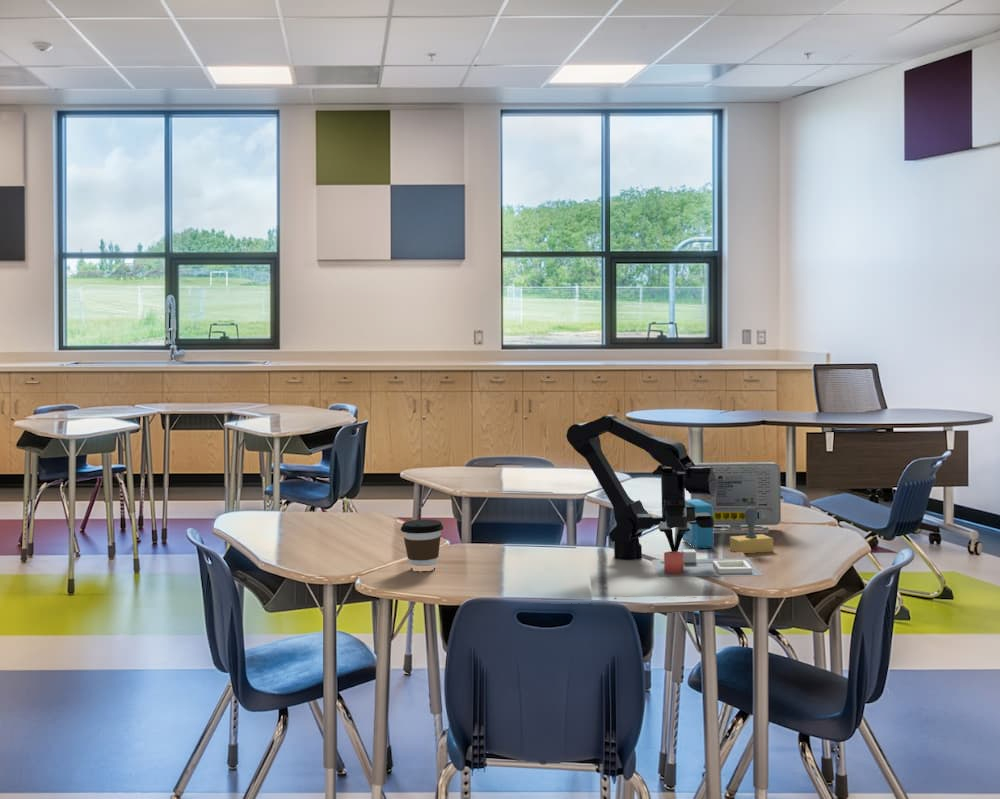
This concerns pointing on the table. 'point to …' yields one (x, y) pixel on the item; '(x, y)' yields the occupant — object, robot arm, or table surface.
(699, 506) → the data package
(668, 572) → the cap
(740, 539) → the rubber stamp
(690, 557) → the block
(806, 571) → the table surface
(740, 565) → the breaker panel
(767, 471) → the network device
